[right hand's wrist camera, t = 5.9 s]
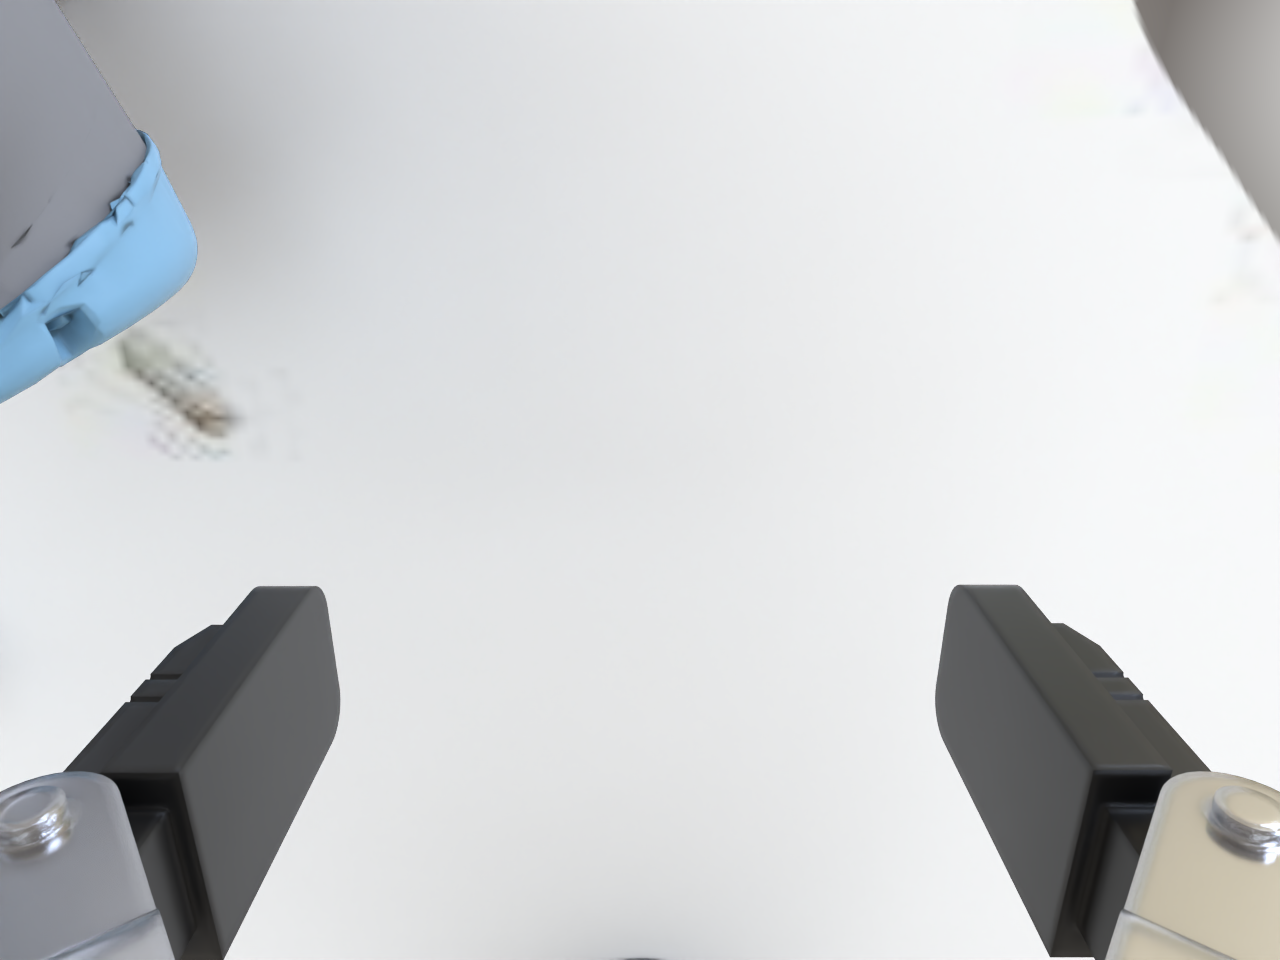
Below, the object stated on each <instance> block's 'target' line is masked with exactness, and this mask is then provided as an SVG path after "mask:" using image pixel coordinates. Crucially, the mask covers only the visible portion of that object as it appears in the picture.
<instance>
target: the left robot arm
mask: <svg viewBox="0 0 1280 960" xmlns="http://www.w3.org/2000/svg"><path fill="white" fill-rule="evenodd" d="M161 165H162V163H161V159H160V153H159V151H158V148H157V147H156V145H155V144H154V142H153V141H152V140H151V138H150V137H149V135H148V134H146V133H145V132H143V131H140V130H137V129H135V127H134V126H133V124H132V123H131V121H130V119H129V118H128V116H127V115H126V113H125V111H124V110H123V108H122V107H121V105H120V104H119V102H118V100H117V99H116V97H115V96H114V94H113V92H112V91H111V89H110V88H109V86H108V84H107V83H106V81H105V80H104V78H103V76H102V75H101V73H100V72H99V70H98V68H97V67H96V65H95V64H94V62H93V60H92V59H91V57H90V56H89V54H88V52H87V51H86V49H85V48H84V46H83V45H82V43H81V41H80V40H79V38H78V37H77V35H76V33H75V32H74V30H73V29H72V27H71V25H70V24H69V22H68V21H67V19H66V17H65V16H64V14H63V13H62V11H61V9H60V8H59V6H58V5H57V3H56V1H55V0H0V404H1V403H2V402H4V401H6V400H8V399H10V398H11V397H13V396H15V395H17V394H18V393H20V392H22V391H24V390H25V389H27V388H29V387H31V386H32V385H34V384H36V383H37V382H39V381H40V380H41V379H43V378H44V377H46V376H47V375H48V374H50V373H51V372H53V371H54V370H55V369H57V368H58V367H61V366H63V365H65V364H66V363H68V362H70V361H71V360H73V359H75V358H76V357H78V356H80V355H81V354H83V353H84V352H86V351H87V350H89V349H91V348H93V347H95V346H98V345H100V344H102V343H104V342H105V341H107V340H109V339H110V338H112V337H114V336H115V335H117V334H119V333H120V332H122V331H124V330H125V329H127V328H129V327H130V326H132V325H133V324H135V323H136V322H138V321H139V320H141V319H142V318H144V317H145V316H147V315H148V314H150V313H151V312H153V311H154V310H155V309H157V308H158V307H159V306H161V305H162V304H163V303H165V302H166V301H167V300H168V299H170V298H171V297H172V296H173V295H175V294H176V293H177V292H178V291H179V290H180V289H181V288H182V287H183V286H184V285H185V283H186V282H187V281H188V280H189V278H190V276H191V275H192V273H193V270H194V268H195V264H196V260H197V240H196V236H195V233H194V230H193V227H192V225H191V222H190V221H189V219H188V217H187V215H186V213H185V211H184V209H183V207H182V205H181V203H180V201H179V199H178V197H177V195H176V193H175V191H174V190H173V188H172V186H171V184H170V182H169V180H168V178H167V176H166V174H165V172H164V170H163V168H162V166H161Z"/></svg>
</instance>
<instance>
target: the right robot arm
mask: <svg viewBox="0 0 1280 960" xmlns="http://www.w3.org/2000/svg"><path fill="white" fill-rule="evenodd" d="M935 705H936V716H937V722H938V726H939V730H940V734H941V737H942V739H943V741H944V743H945V745H946V747H947V749H948V751H949V753H950V755H951V757H952V759H953V761H954V764H955V766H956V768H957V770H958V772H959V774H960V776H961V778H962V780H963V782H964V784H965V786H966V788H967V790H968V792H969V794H970V796H971V798H972V800H973V802H974V804H975V806H976V808H977V810H978V812H979V814H980V816H981V818H982V820H983V822H984V824H985V826H986V828H987V830H988V832H989V834H990V836H991V838H992V840H993V842H994V844H995V847H996V849H997V851H998V853H999V855H1000V857H1001V859H1002V861H1003V863H1004V865H1005V867H1006V869H1007V871H1008V873H1009V875H1010V877H1011V879H1012V881H1013V883H1014V885H1015V887H1016V889H1017V891H1018V893H1019V895H1020V897H1021V899H1022V901H1023V903H1024V905H1025V907H1026V909H1027V911H1028V913H1029V915H1030V917H1031V919H1032V921H1033V923H1034V925H1035V927H1036V930H1037V932H1038V934H1039V936H1040V938H1041V940H1042V942H1043V944H1044V946H1045V948H1046V950H1047V952H1048V954H1049V956H1050V957H1094V958H1095V960H1280V792H1279V791H1277V790H1274V789H1272V788H1270V787H1268V786H1265V785H1263V784H1260V783H1258V782H1255V781H1252V780H1249V779H1246V778H1242V777H1239V776H1234V775H1230V774H1225V773H1218V772H1211V771H1210V770H1209V768H1208V767H1207V766H1206V765H1205V764H1204V763H1203V762H1202V761H1201V759H1200V758H1199V757H1198V756H1197V755H1196V754H1195V753H1194V752H1193V750H1192V749H1191V748H1190V747H1189V746H1188V745H1187V744H1186V742H1185V741H1184V740H1183V739H1182V738H1181V737H1180V736H1179V735H1178V733H1177V732H1176V731H1175V730H1174V729H1173V728H1172V727H1171V726H1170V724H1169V723H1168V722H1167V721H1166V720H1165V719H1164V718H1163V717H1162V715H1161V714H1160V713H1159V712H1158V711H1157V710H1156V709H1155V707H1154V706H1153V705H1152V704H1151V703H1150V702H1149V701H1148V700H1143V694H1142V693H1141V692H1140V691H1139V689H1138V688H1137V687H1136V686H1135V685H1134V684H1133V683H1132V682H1131V680H1130V679H1129V678H1124V676H1123V671H1122V670H1121V669H1120V668H1119V667H1118V666H1117V665H1116V663H1115V662H1114V661H1113V660H1112V659H1111V658H1110V657H1109V656H1108V654H1107V653H1106V652H1105V651H1104V650H1103V649H1102V648H1101V647H1100V646H1099V645H1098V644H1096V643H1094V642H1093V641H1091V640H1089V639H1088V638H1086V637H1085V636H1083V635H1081V634H1080V633H1078V632H1077V631H1075V630H1073V629H1072V628H1070V627H1068V626H1067V625H1065V624H1064V623H1051V622H1050V621H1049V620H1048V619H1047V618H1046V616H1045V615H1044V614H1043V613H1042V611H1041V610H1040V609H1039V608H1038V607H1037V605H1036V604H1035V603H1034V602H1033V601H1032V599H1031V598H1030V597H1029V596H1028V595H1027V593H1026V592H1025V591H1024V590H1023V589H1022V588H1021V587H1020V586H1018V585H957V586H956V587H954V589H953V590H952V592H951V595H950V598H949V602H948V608H947V615H946V622H945V629H944V635H943V642H942V649H941V656H940V663H939V670H938V677H937V684H936V693H935ZM339 713H340V689H339V682H338V675H337V668H336V662H335V655H334V648H333V641H332V634H331V628H330V621H329V614H328V607H327V602H326V598H325V595H324V593H323V591H322V590H321V589H320V588H319V587H317V586H259V587H256V588H254V589H253V590H252V591H251V592H250V593H249V595H248V596H247V597H246V598H245V599H244V600H243V602H242V603H241V604H240V605H239V606H238V608H237V609H236V610H235V611H234V612H233V614H232V615H231V616H230V617H229V618H228V620H227V621H226V622H225V623H224V624H223V625H210V626H209V627H207V628H206V629H204V630H202V631H201V632H199V633H197V634H196V635H194V636H193V637H191V638H189V639H188V640H186V641H184V642H183V643H181V644H179V645H178V646H176V647H175V648H174V649H173V650H172V651H171V652H170V653H169V654H168V655H167V656H166V658H165V659H164V660H163V661H162V662H161V663H160V664H159V665H158V666H157V668H156V669H155V670H154V671H153V672H152V673H151V678H150V680H145V681H144V682H143V683H142V684H141V685H140V687H139V688H138V689H137V690H136V691H135V692H134V693H133V694H132V696H131V701H130V702H125V703H124V705H123V706H122V707H121V708H120V709H119V710H118V711H117V712H116V713H115V715H114V716H113V717H112V718H111V719H110V720H109V721H108V722H107V724H106V725H105V726H104V727H103V728H102V729H101V730H100V731H99V732H98V734H97V735H96V736H95V737H94V738H93V739H92V740H91V741H90V743H89V744H88V745H87V746H86V747H85V748H84V749H83V750H82V751H81V753H80V754H79V755H78V756H77V757H76V758H75V759H74V760H73V762H72V763H71V764H70V765H69V766H68V767H67V768H66V769H65V771H64V772H62V773H55V774H50V775H46V776H41V777H38V778H34V779H31V780H28V781H25V782H22V783H20V784H17V785H15V786H12V787H10V788H8V789H6V790H3V791H1V792H0V960H224V958H225V956H226V954H227V952H228V950H229V948H230V946H231V944H232V942H233V940H234V938H235V936H236V934H237V932H238V930H239V928H240V926H241V924H242V922H243V920H244V918H245V916H246V914H247V912H248V910H249V908H250V906H251V904H252V902H253V900H254V898H255V896H256V894H257V892H258V890H259V888H260V886H261V884H262V882H263V880H264V878H265V876H266V874H267V872H268V870H269V868H270V866H271V864H272V862H273V860H274V858H275V856H276V854H277V852H278V850H279V848H280V846H281V844H282V842H283V840H284V838H285V836H286V834H287V832H288V830H289V828H290V826H291V824H292V822H293V820H294V818H295V816H296V814H297V812H298V810H299V808H300V806H301V804H302V802H303V800H304V798H305V796H306V794H307V792H308V790H309V788H310V786H311V784H312V782H313V780H314V778H315V776H316V774H317V772H318V770H319V768H320V766H321V764H322V762H323V760H324V758H325V756H326V754H327V752H328V750H329V748H330V746H331V744H332V742H333V739H334V737H335V734H336V730H337V726H338V721H339Z"/></svg>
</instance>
